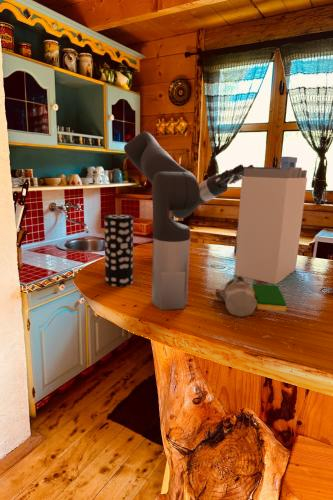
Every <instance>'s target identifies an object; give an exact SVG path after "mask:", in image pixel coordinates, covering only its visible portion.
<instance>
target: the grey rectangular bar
mask: <svg viewBox="0 0 333 500" xmlns="http://www.w3.org/2000/svg"><path fill="white" fill-rule="evenodd" d="M243 167H244V169H277V170H280V168H281V167H267V166H265V167H264V166H263V167H262V166H254V167H248V166H243ZM289 170H301V171H302V170H303V167H299V166H297V167H290V168H289ZM236 175H240V176H244V170H243V171H242V172H240V173H238V174H236Z"/></svg>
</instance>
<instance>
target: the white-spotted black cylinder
mask: <svg viewBox="0 0 333 500" xmlns="http://www.w3.org/2000/svg"><path fill="white" fill-rule="evenodd" d="M103 221H104V222H103V224H104V269H105V271H104V273H105V275H104V278H105V284H106V285H107V286H111V287H126V286H130V285H132V284H133V283H134V216H133V215H131V214H106V215H104V219H103Z"/></svg>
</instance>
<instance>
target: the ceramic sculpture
mask: <svg viewBox="0 0 333 500" xmlns="http://www.w3.org/2000/svg"><path fill="white" fill-rule="evenodd" d="M215 296H216V298H218V299H219V300H221V301H222V302H225V307H226V309H227V311H228V313H230V314H231V315H233V316H235V317H240V318H241V317H248V316H250V315H251V314H253V313H254V311H255V310H256V309H257V308H256V305H257V301H256V299H255V297H256V293H253V291H252V287H251V286H250V284H249V283H248V282H247V280H245V279H244V277H242V276H238V277H237V278H235V279H230V280H229V281H227V283H226V285H225V286H224V288H223V289H219V288H216V289H215Z"/></svg>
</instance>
